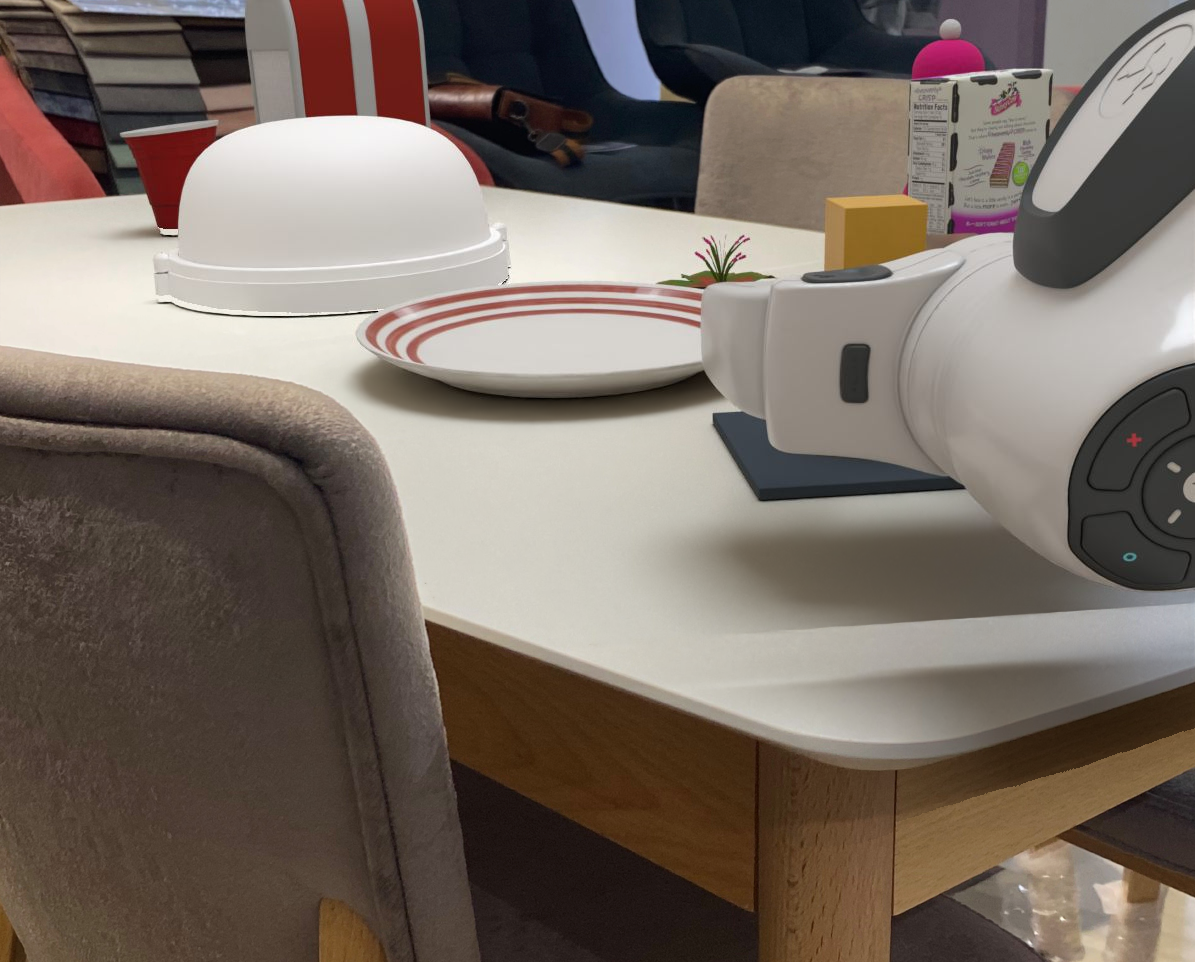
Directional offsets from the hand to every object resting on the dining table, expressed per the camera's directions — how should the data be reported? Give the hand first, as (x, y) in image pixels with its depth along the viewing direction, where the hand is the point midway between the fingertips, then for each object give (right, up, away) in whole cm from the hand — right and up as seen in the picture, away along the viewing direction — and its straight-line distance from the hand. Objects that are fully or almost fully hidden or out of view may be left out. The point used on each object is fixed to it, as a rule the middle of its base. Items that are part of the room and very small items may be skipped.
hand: (899, 294), depth 66 cm
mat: (0, -6, +8) cm, 10 cm away
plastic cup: (-61, +27, +98) cm, 118 cm away
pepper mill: (+16, +16, +62) cm, 66 cm away
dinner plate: (-16, +1, +29) cm, 33 cm away
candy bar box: (+16, +10, +48) cm, 51 cm away
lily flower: (-4, +11, +51) cm, 52 cm away
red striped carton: (-46, +37, +120) cm, 134 cm away
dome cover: (-37, +14, +62) cm, 73 cm away
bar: (0, -6, +8) cm, 10 cm away
